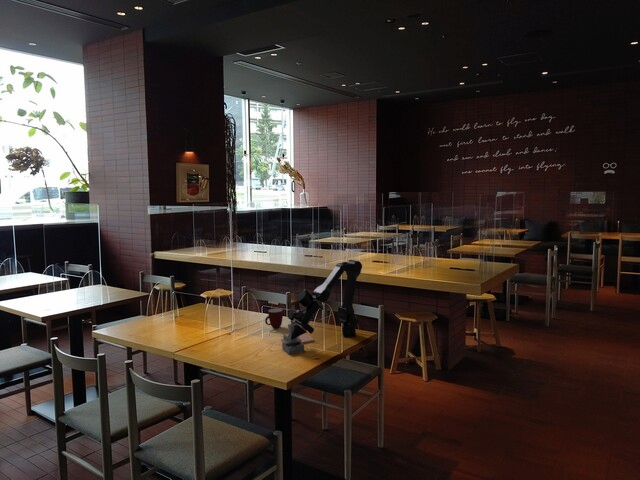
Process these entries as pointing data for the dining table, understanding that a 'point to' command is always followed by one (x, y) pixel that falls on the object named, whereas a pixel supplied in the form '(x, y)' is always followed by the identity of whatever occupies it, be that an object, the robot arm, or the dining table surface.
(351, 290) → the robot arm
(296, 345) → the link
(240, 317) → the dining table surface
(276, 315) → the mug
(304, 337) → the plate
